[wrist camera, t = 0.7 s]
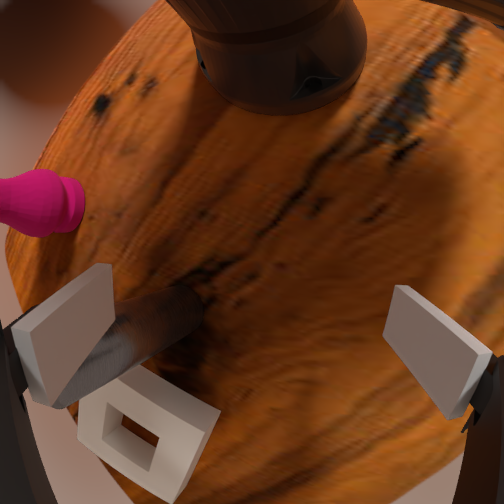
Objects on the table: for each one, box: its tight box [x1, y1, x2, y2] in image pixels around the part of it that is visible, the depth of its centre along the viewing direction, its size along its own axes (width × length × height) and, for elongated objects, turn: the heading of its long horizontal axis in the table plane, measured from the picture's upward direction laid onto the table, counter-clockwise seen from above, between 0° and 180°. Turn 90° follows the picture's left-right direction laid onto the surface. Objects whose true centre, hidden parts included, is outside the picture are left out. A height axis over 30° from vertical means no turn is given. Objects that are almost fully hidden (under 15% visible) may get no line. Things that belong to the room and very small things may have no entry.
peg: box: [52, 285, 204, 409], centre depth 20 cm, size 4×4×16 cm
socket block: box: [77, 364, 221, 504], centre depth 28 cm, size 14×14×4 cm
